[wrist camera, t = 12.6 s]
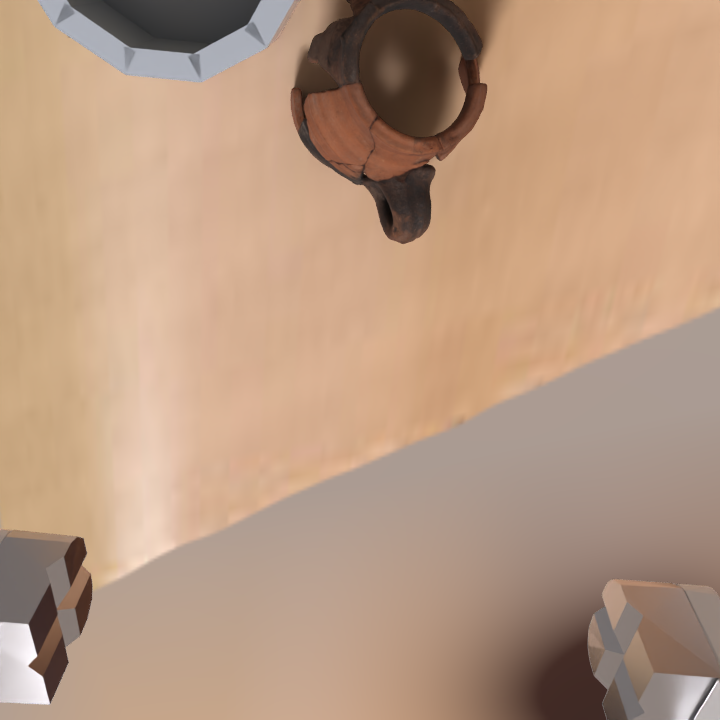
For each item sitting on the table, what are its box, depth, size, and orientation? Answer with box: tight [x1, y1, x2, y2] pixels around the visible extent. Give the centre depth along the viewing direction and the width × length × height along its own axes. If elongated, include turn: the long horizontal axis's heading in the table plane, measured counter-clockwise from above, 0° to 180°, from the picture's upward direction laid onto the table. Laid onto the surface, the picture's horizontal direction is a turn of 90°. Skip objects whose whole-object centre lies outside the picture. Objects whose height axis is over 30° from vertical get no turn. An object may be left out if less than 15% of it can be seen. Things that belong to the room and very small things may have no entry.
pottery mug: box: [291, 0, 487, 244], centre depth 35 cm, size 12×10×8 cm
